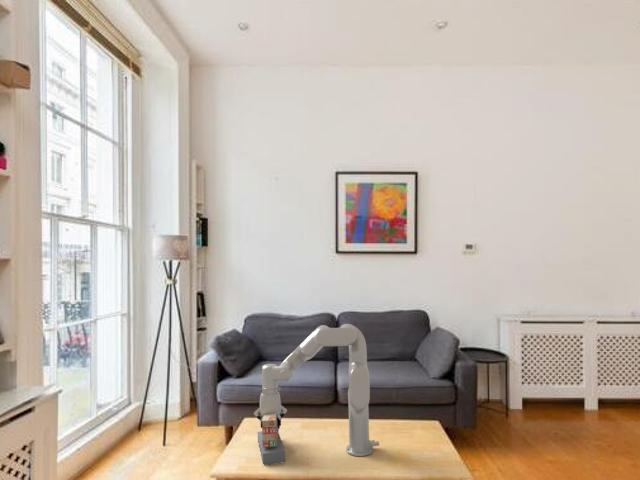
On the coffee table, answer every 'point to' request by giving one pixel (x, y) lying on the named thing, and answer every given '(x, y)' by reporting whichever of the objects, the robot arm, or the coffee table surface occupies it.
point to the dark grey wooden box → (271, 451)
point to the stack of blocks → (270, 430)
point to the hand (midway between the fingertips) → (270, 427)
